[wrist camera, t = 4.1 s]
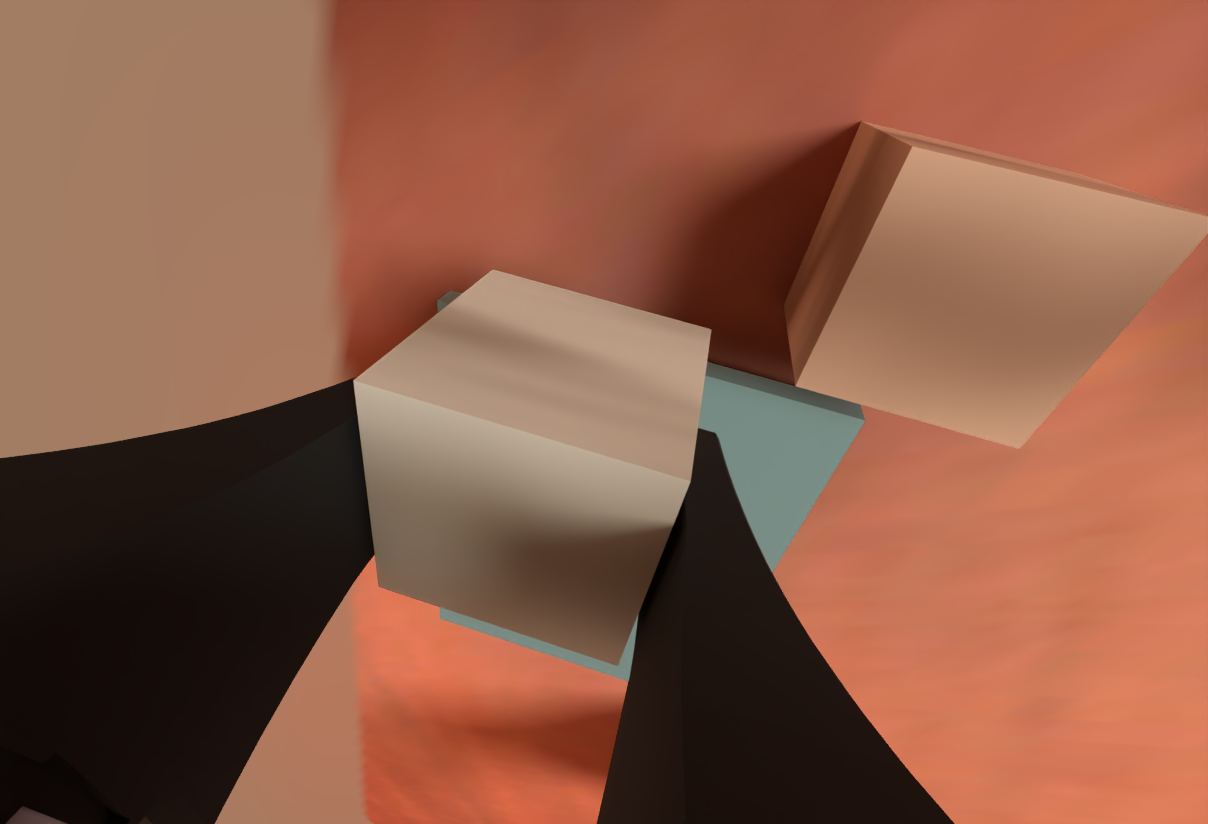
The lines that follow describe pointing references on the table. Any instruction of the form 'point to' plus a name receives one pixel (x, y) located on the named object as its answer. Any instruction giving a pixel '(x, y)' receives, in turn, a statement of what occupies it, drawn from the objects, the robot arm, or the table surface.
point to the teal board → (744, 470)
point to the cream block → (532, 458)
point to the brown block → (972, 282)
